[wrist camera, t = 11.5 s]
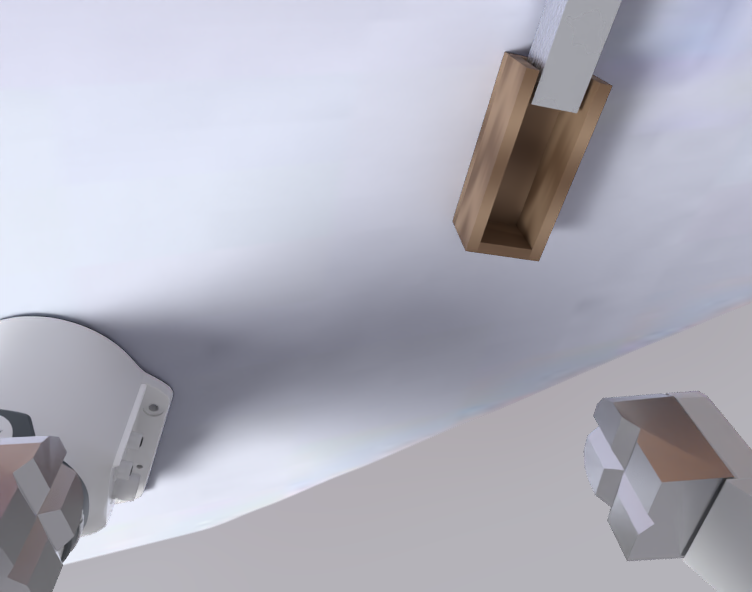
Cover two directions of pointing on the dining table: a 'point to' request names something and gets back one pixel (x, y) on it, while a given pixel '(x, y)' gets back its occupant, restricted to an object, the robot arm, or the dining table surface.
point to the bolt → (569, 50)
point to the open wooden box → (523, 164)
